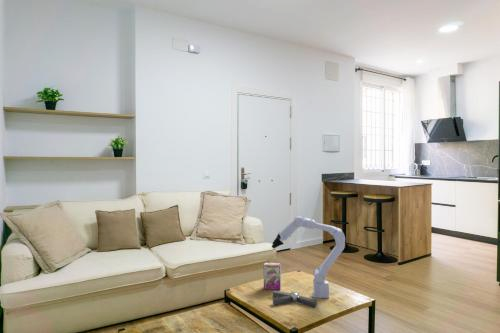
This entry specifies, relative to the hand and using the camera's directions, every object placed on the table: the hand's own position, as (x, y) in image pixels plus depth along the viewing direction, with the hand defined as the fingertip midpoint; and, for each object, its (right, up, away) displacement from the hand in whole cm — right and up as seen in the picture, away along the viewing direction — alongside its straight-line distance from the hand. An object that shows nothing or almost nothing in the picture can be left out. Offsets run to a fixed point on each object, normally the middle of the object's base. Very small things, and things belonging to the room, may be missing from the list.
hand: (273, 245), depth 208 cm
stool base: (+12, -31, -12) cm, 35 cm away
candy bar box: (0, -31, +10) cm, 32 cm away
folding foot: (+5, -30, -5) cm, 31 cm away
